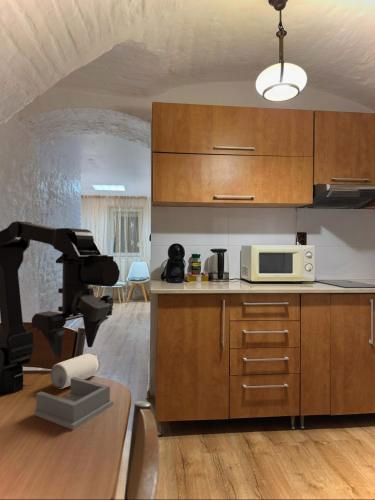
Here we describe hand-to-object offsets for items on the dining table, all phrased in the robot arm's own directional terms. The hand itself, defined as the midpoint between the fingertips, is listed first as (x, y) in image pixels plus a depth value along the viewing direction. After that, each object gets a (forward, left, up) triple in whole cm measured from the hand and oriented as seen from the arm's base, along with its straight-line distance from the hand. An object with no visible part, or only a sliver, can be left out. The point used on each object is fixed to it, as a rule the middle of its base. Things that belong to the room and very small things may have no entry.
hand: (75, 352), depth 76 cm
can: (-12, +5, -10) cm, 16 cm away
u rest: (+1, -1, -13) cm, 13 cm away
